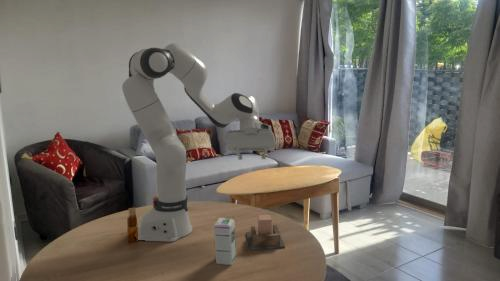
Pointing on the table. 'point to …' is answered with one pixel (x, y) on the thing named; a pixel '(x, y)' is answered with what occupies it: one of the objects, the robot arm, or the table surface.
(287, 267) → the table surface
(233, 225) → the syrup box
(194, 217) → the table surface
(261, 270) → the table surface
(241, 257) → the table surface
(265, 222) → the block
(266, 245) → the stop cradle
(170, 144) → the robot arm
